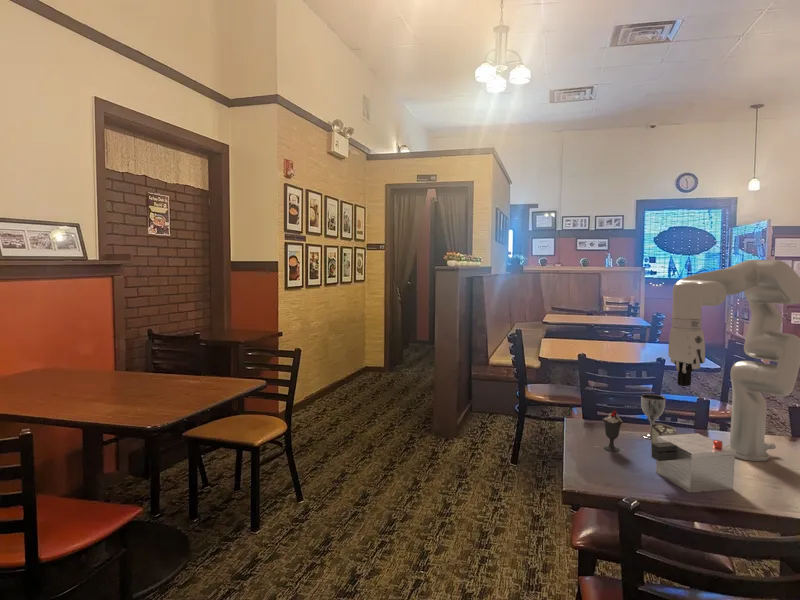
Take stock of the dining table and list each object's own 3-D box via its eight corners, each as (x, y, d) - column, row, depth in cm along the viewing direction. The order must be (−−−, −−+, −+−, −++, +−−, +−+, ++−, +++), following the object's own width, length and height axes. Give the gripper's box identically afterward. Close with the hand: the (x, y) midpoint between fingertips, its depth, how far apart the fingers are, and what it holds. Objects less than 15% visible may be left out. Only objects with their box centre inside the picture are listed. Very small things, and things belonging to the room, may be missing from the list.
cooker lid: (697, 437, 160) (697, 427, 160) (735, 454, 146) (736, 444, 146) (638, 441, 157) (639, 431, 156) (672, 459, 142) (673, 448, 142)
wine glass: (667, 440, 187) (669, 399, 185) (645, 440, 187) (647, 399, 185) (656, 433, 194) (658, 394, 193) (635, 433, 195) (637, 393, 193)
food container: (681, 466, 164) (683, 435, 163) (660, 464, 165) (662, 433, 164) (669, 452, 176) (671, 423, 175) (650, 450, 177) (651, 421, 176)
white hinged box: (696, 469, 161) (697, 437, 160) (732, 489, 147) (735, 454, 147) (638, 473, 157) (639, 441, 156) (670, 494, 144) (672, 459, 143)
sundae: (611, 453, 173) (613, 409, 172) (596, 447, 179) (598, 404, 178) (626, 451, 176) (628, 407, 175) (611, 444, 182) (613, 402, 181)
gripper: (717, 327, 146) (714, 391, 148) (679, 320, 161) (677, 378, 162) (694, 328, 144) (691, 392, 146) (657, 321, 159) (655, 380, 161)
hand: (684, 385), depth 154 cm, fingers closed
